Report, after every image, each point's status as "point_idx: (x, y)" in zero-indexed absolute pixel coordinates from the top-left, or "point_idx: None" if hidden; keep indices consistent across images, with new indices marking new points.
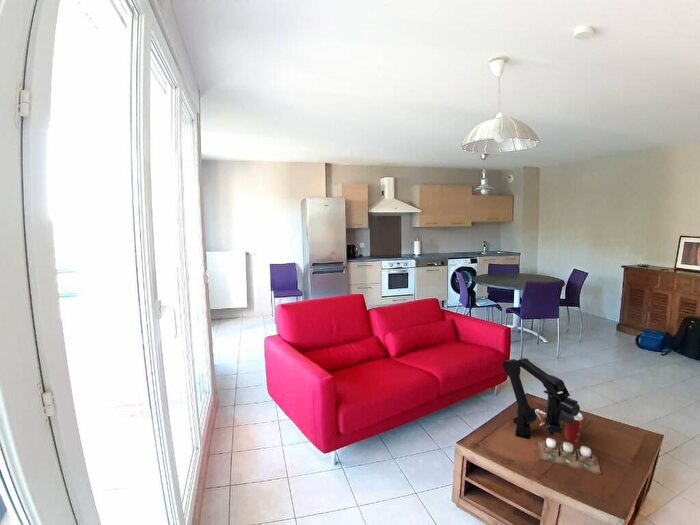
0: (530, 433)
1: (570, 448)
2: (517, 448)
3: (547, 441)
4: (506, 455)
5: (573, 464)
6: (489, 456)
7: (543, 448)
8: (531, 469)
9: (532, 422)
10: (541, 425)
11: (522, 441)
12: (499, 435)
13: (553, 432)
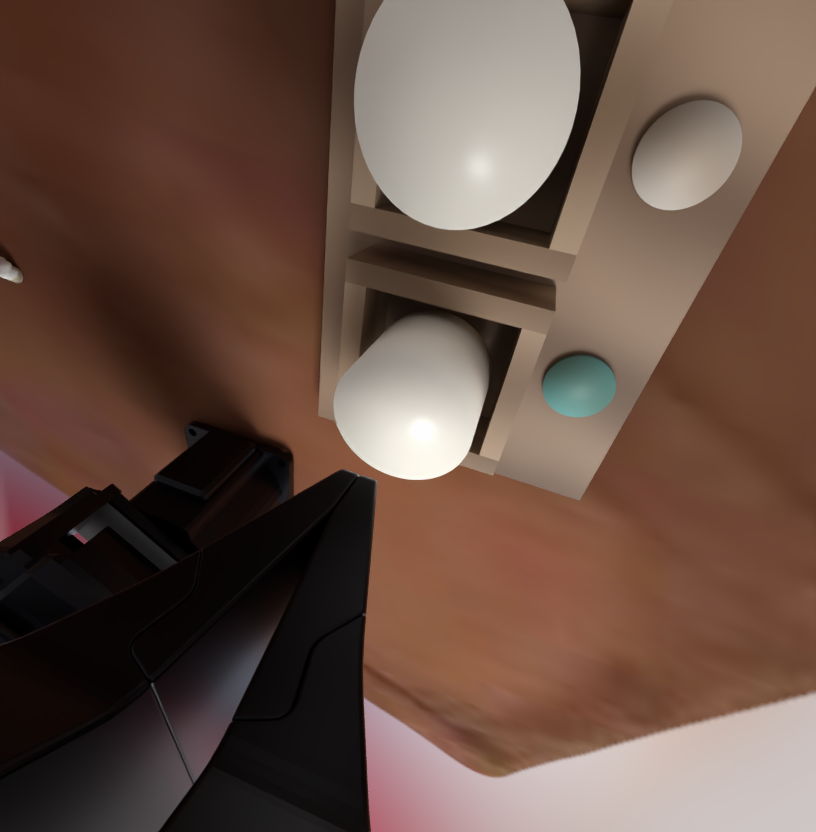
0: (236, 462)
1: (579, 77)
2: (454, 579)
3: (432, 474)
4: (560, 670)
5: (782, 85)
6: (583, 741)
7: None
8: (761, 609)
9: (129, 555)
10: (10, 267)
11: None
12: None
13: (367, 569)
